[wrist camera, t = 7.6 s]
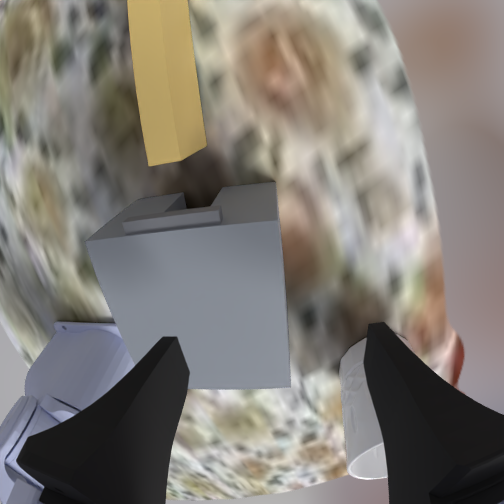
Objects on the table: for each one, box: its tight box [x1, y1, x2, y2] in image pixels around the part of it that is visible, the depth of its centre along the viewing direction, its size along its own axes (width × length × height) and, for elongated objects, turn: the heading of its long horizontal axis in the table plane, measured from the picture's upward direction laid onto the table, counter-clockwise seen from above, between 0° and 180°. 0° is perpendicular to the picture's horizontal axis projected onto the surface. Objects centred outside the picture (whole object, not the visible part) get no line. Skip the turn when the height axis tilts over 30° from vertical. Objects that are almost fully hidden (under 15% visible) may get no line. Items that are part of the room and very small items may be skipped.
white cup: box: [339, 334, 415, 479], centre depth 20 cm, size 8×8×10 cm
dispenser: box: [85, 182, 291, 389], centre depth 18 cm, size 9×11×7 cm
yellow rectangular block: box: [127, 0, 207, 166], centre depth 13 cm, size 2×10×6 cm, turn 7°
